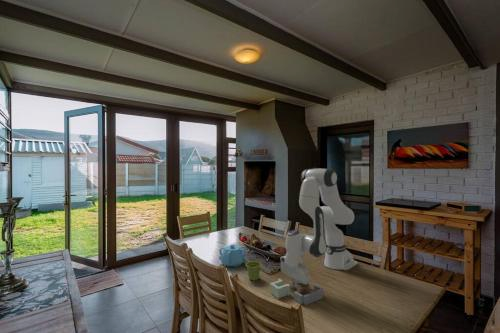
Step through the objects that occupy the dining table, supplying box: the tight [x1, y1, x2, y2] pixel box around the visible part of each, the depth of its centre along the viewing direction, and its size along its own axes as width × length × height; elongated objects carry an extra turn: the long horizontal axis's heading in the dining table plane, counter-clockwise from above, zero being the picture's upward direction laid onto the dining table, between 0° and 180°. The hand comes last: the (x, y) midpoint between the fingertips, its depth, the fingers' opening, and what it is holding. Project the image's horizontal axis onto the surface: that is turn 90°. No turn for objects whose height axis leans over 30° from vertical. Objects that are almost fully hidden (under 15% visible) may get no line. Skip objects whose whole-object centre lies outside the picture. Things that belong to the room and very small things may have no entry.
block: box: [296, 283, 312, 295], centre depth 126 cm, size 6×6×6 cm
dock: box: [293, 284, 324, 306], centre depth 125 cm, size 15×6×4 cm, turn 120°
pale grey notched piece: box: [269, 278, 311, 299], centre depth 135 cm, size 21×9×5 cm, turn 120°
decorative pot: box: [218, 243, 247, 268], centre depth 172 cm, size 16×16×14 cm
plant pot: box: [245, 260, 262, 281], centre depth 150 cm, size 9×9×9 cm
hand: (295, 286), depth 135 cm, fingers closed
